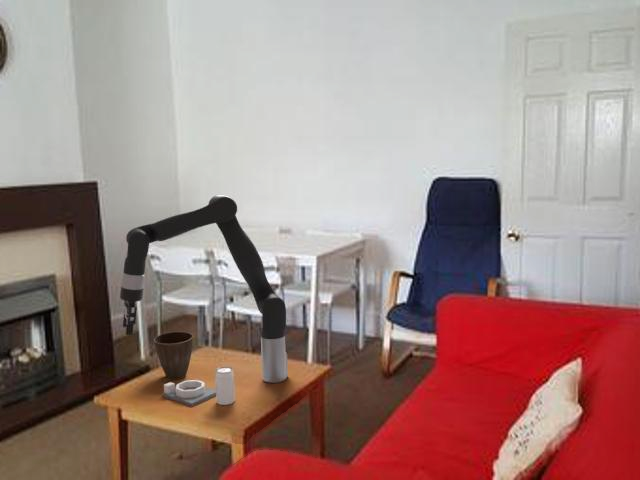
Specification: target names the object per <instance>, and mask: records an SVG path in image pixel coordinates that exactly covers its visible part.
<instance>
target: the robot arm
mask: <svg viewBox="0 0 640 480" xmlns="http://www.w3.org/2000/svg"><path fill="white" fill-rule="evenodd" d="M237 213H238V205H237V202H236V201H235V200H234V199H233V198H232V197H230V196H227V195H222V194H217V195H215V196H214V195H213V196H212V197H211V199H210V200H209V202H208V204H207V205H205V206H203V207H201V208H199V209H195V210H192V211H188V212H183V213H180V214H175V215H173V216H169V217H167V218H163V219H160V220H159V221H155V222H153V223H148V224H145V225H140V226H137V227H134V228H132V229H130V230H129V231H128V233H126V237H125V238H126V243H127V253H126V257H125V259H124V264H123V265H124V266H123V271H122V272H123V274H122V277H121V283H120V284H121V285H120V292H119V293H120V294H119V298H120V300H122V301H123V308H122V313H123V314H122V315H123V318H122V320H123V322H122V327H123V328H125V334H126V335H127V336H132V335H133V333H134V325H136V321H137V320H136V319H137V311H138V306H137V304H136V302H140V301H142V300H143V296H144V288H145V273H146V272H145V271H146V263H147V262H146V261H147V257H148V253H149V248H150V244H151V243H154V242H163V241H167V240H170V239H173V238H174V237H178V236H181V235H183V234H185V233H188V232H190V231H193V230H196V229H198V228H202V227H206V226H208V225H213V224H216V226H217V227H218V229H219V230H220V233H221V234H222V236H223V239H224V240H225V243H226V245H227V248H228V250H229V253H230V254H231V257H232V259H233V261H234V263H235V265H236V267H237V269H238V270H239V273H240V275H241V276H242V278H243V279H244V280H245V282H246V284H247V285H248V287H249V288H250V291H251V293H252V296H253V299H254V300H255V301H254V302H255V304H256V306H257V309H258V311H259V313H260V314H261V315H262V317H261V319H262V322H261V323H262V327H261V329H260V345H261V346H260V348H261V349H260V350H261V351H260V352H261V372H262V373H261V375H262V381H264V382H266V383H269V384H270V383H273V384H274V383H276V384H277V383H280V382H283V381H285V380H286V379H287V377H289V370H288V352H286V329H287V307H286V304H285V301H284V300H283V299H282V298H281V297H279V295H277V293H276V292H275V291H274V289H273V287H272V285H271V283H270V282H269V281H268V278H267V276H266V270H265V266H264V262H263V260H262V258H261V256H260V254H259V252H258V249H257V248H256V246H255V244H254V243H253V241H252V240H251V238H250V237H249V236H248V234H247V233H246V232H245V231H244V229H243V227H242V225H240V222H239V221H238V219H237V216H236V214H237ZM131 319H132V320H131Z"/></svg>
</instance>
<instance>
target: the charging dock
mask: <svg viewBox="0 0 640 480" xmlns="http://www.w3.org/2000/svg"><path fill="white" fill-rule="evenodd" d="M161 395H162V397H164V398H167V399H169V400H173V401H175V402H178V403H181V404H184V405H186V406H189V407H193V406H196V405H199V404H201V403H203V402H205V401H207V400H209V399H211V398H213V397H216V388H211V387H207V386H206V385H205V382H204V381H201V380H199V379H193V380H191V379H190V380H183V381H181V382H179V383H177V384H175V383H174V382H171V381H170V382H169V381H168V383H165V384H163V392H162V393H161Z"/></svg>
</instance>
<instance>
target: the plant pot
mask: <svg viewBox="0 0 640 480" xmlns="http://www.w3.org/2000/svg"><path fill="white" fill-rule="evenodd" d="M193 341H194V335H193V333H190V332H187V331H171V332H166V333H163V334H162V333H161V334H159V335H157V336H155V337H154V339H153V342H154V346H155V351H156V354H157V357H158V360H159V363H160V366H161V368H162V371H163V372H164V374H165V376H166V378H167V379H168V380H171V381H172V380H173V381H174V380H175V381H176V380H181V379H183V378H185V377H186V375H187V374H188V371H189V366H190V362H191V357H192V351H193Z"/></svg>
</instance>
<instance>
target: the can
mask: <svg viewBox="0 0 640 480" xmlns="http://www.w3.org/2000/svg"><path fill="white" fill-rule="evenodd" d="M215 371H216V372H215V374H214V377H215V378H214V380H215V384H214V385H215V390H216V396H215V398H216V404H218V405H219V406H229V405H232V404H234V403H235V401H236V397H235V395H236V394H235V378H234V377H235V376H234V375H235V374H234V371H233V368H232V367H230V366H220V367H217V368H216V370H215Z"/></svg>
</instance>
